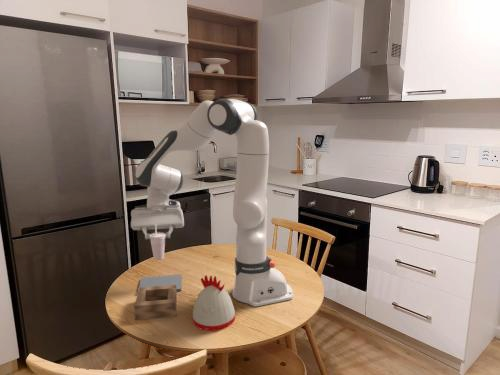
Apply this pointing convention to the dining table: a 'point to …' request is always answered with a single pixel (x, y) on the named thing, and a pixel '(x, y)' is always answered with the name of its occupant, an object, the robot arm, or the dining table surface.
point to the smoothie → (158, 244)
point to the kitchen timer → (213, 307)
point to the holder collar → (156, 302)
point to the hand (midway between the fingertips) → (157, 238)
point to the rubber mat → (161, 281)
